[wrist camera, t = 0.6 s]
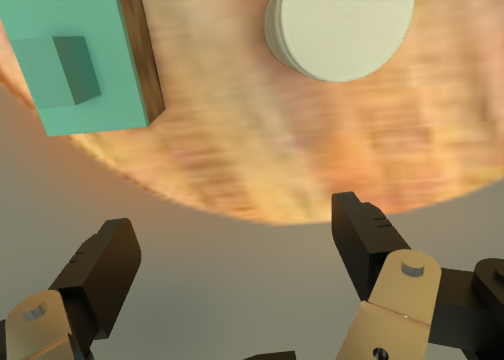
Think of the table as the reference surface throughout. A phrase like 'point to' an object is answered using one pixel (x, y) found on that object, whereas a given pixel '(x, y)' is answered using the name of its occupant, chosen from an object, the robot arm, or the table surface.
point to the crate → (143, 57)
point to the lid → (76, 64)
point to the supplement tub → (336, 35)
